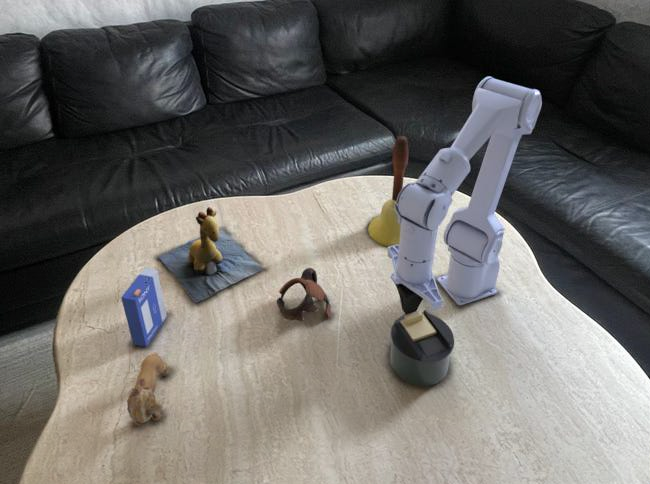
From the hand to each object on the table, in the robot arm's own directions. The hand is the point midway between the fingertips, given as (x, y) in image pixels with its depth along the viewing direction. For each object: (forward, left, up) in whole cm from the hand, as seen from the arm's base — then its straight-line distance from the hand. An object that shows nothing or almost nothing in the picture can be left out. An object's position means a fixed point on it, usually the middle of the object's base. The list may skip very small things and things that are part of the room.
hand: (409, 311), depth 90 cm
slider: (0, +3, -1) cm, 3 cm away
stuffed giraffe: (+29, -35, -8) cm, 46 cm away
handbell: (-14, -30, -8) cm, 34 cm away
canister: (0, +4, -8) cm, 9 cm away
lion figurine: (+44, -5, -8) cm, 45 cm away
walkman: (+43, -21, -8) cm, 48 cm away
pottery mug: (+14, -15, -8) cm, 22 cm away
